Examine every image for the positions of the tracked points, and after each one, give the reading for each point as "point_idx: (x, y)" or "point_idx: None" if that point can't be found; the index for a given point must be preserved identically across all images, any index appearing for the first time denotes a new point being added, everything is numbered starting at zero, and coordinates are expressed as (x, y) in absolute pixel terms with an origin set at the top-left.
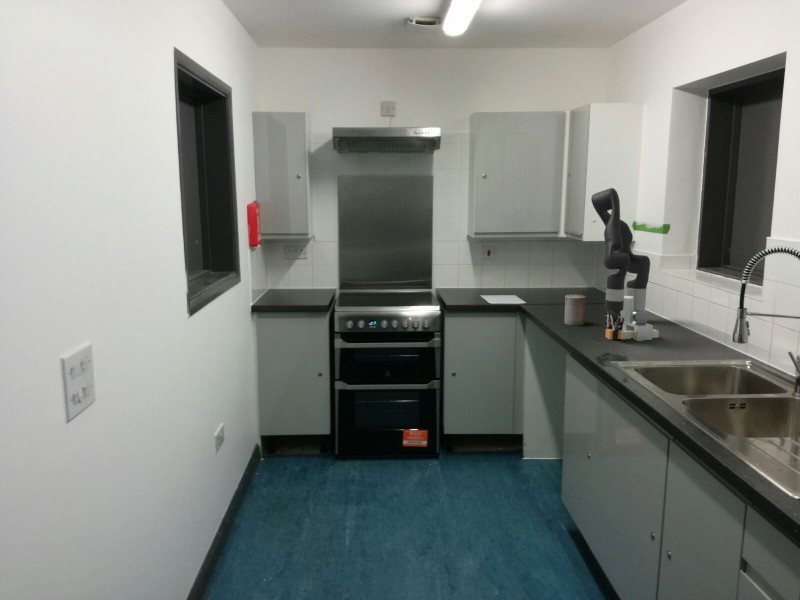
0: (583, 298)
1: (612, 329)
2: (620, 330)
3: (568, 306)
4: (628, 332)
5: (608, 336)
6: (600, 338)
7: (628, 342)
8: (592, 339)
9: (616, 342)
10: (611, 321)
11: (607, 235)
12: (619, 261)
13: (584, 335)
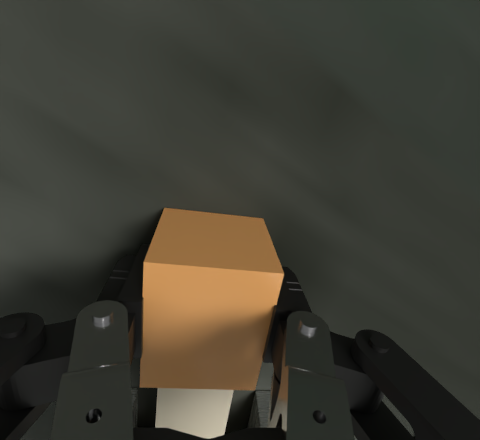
0: None
1: (229, 334)
2: (149, 385)
3: None
4: (155, 425)
5: (195, 225)
6: (261, 156)
7: (44, 315)
8: (246, 14)
9: (49, 214)
10: (125, 433)
11: None
12: None
13: (462, 55)
